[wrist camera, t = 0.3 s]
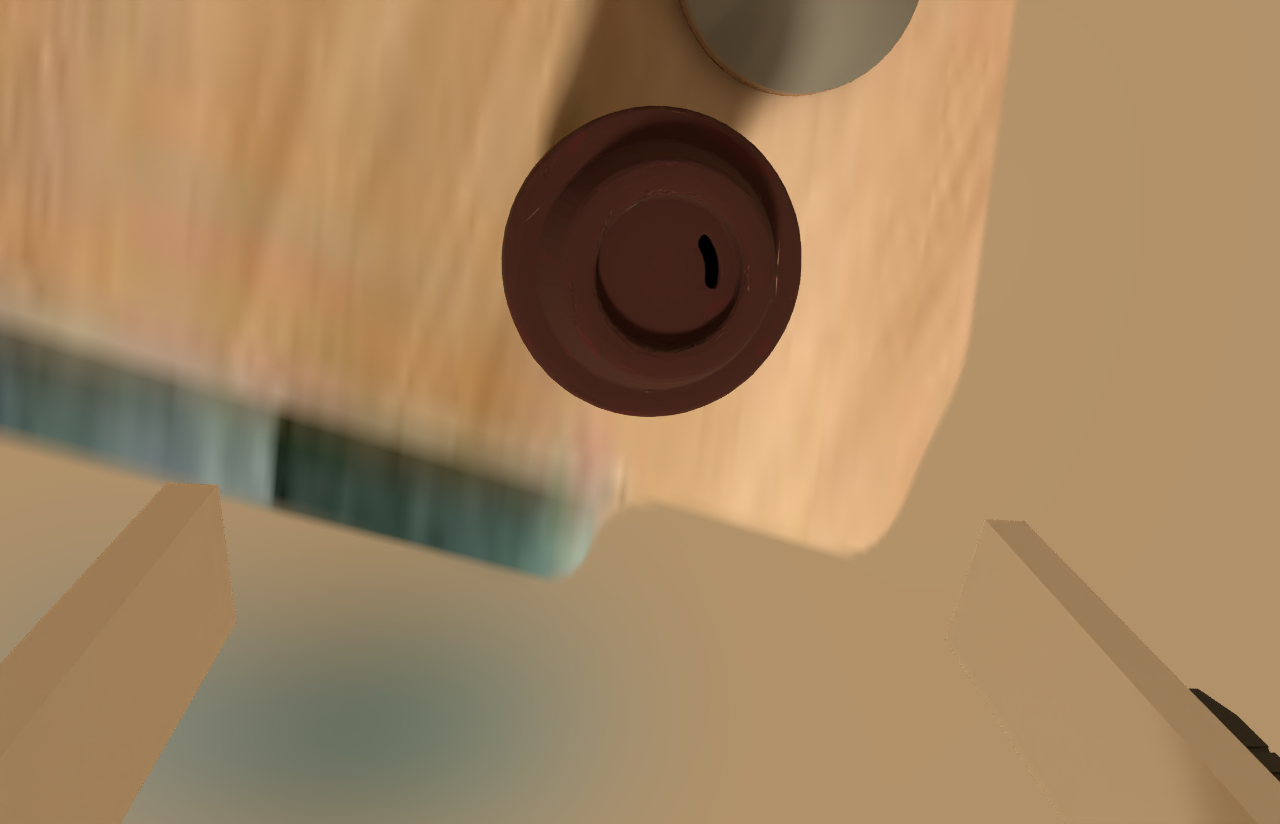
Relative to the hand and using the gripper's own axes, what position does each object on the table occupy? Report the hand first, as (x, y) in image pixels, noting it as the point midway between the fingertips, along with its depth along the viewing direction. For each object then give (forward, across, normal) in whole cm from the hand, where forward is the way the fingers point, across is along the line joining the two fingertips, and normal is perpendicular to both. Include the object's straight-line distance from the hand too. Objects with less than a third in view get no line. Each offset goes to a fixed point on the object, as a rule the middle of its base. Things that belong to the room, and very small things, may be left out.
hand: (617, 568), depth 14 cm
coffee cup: (+27, 0, 0) cm, 27 cm away
